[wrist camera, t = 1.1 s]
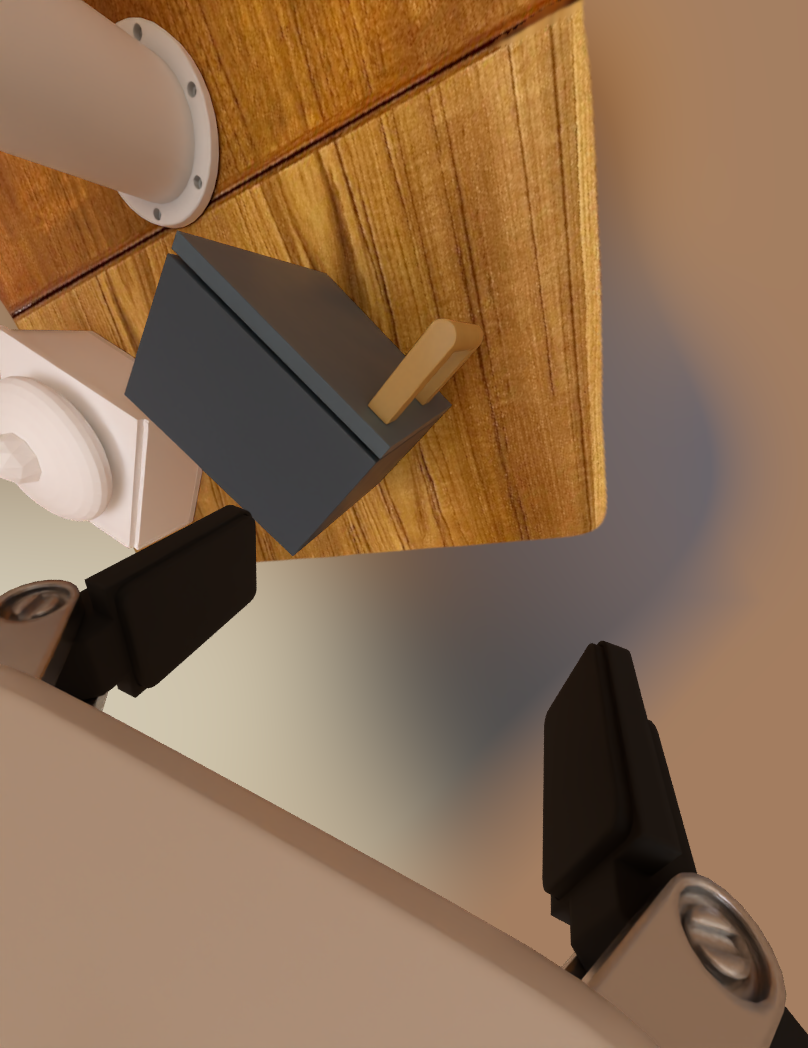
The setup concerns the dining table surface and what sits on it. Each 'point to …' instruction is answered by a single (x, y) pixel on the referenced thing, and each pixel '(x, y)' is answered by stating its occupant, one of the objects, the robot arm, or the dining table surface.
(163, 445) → the butter dish
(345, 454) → the cupboard
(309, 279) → the door
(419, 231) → the dining table surface
